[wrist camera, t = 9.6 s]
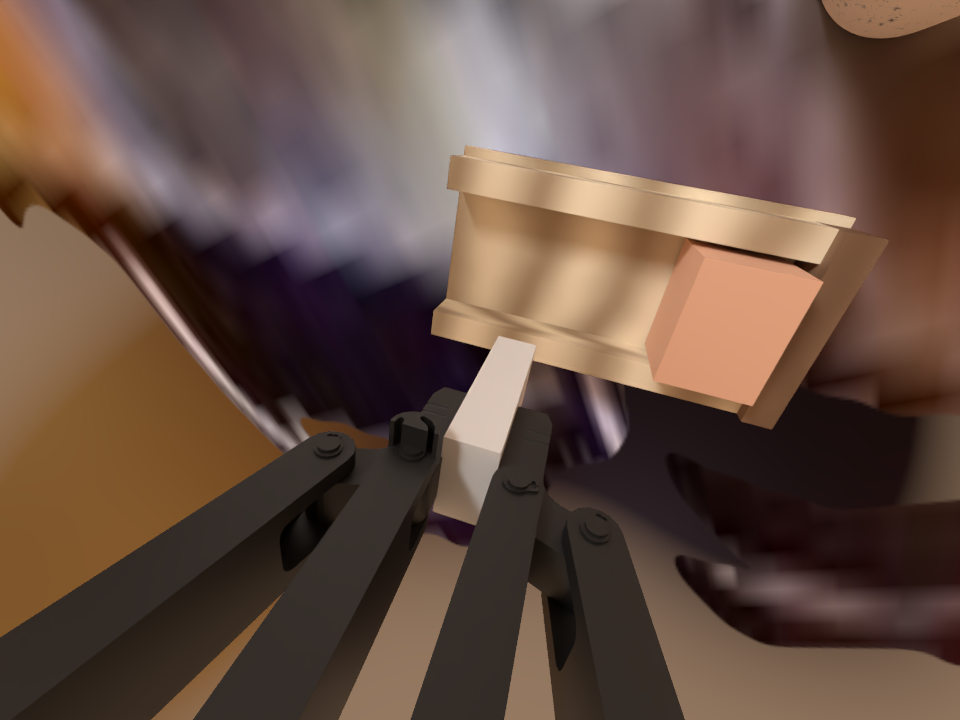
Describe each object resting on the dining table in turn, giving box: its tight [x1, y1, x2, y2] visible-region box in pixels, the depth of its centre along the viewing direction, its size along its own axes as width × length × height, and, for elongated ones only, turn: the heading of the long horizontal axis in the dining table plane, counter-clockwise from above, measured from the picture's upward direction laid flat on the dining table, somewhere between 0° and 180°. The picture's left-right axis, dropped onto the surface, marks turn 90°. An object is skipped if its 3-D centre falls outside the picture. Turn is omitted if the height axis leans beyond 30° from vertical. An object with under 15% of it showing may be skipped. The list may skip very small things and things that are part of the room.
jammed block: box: [645, 238, 824, 406], centre depth 27 cm, size 6×8×6 cm
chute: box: [431, 146, 889, 430], centre depth 29 cm, size 25×14×5 cm, turn 80°
